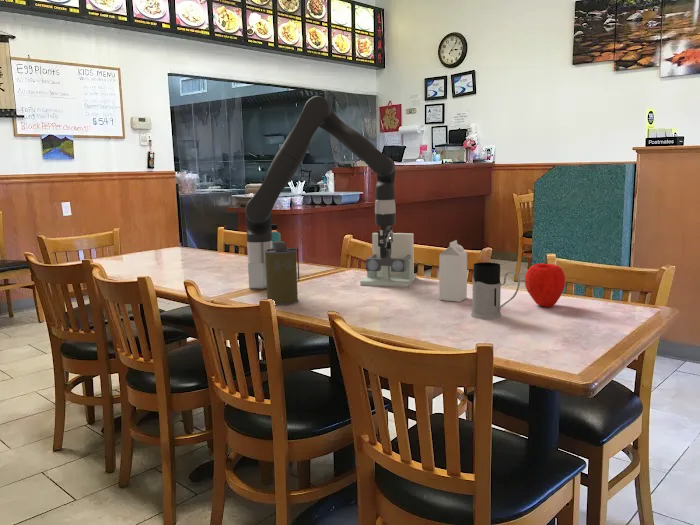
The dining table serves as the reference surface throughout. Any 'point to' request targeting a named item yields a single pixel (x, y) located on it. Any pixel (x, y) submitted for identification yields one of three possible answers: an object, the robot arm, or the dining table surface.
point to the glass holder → (488, 290)
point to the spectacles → (386, 262)
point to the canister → (282, 274)
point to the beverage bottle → (275, 234)
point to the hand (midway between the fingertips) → (385, 255)
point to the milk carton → (453, 273)
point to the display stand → (385, 277)
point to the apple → (545, 283)
